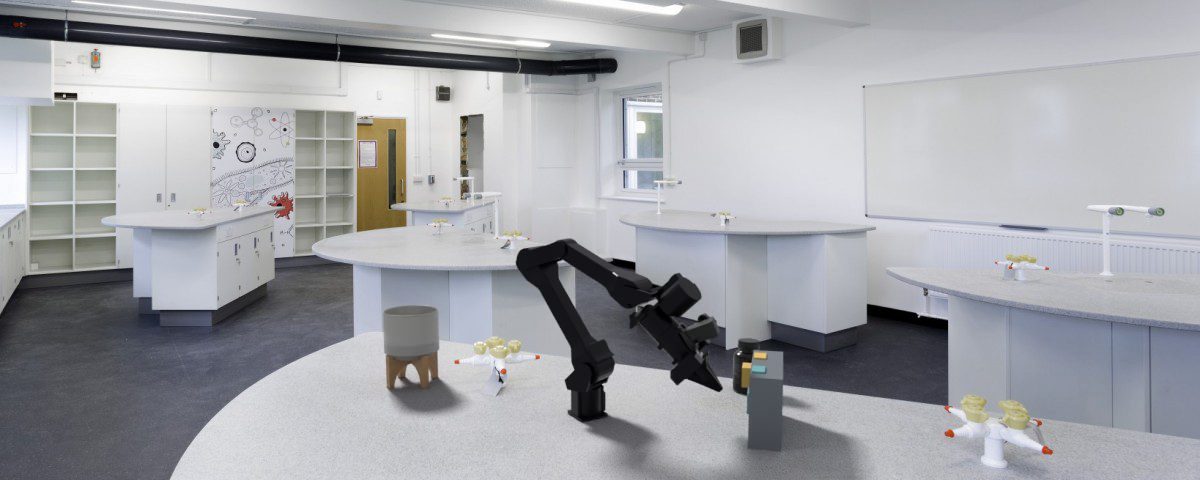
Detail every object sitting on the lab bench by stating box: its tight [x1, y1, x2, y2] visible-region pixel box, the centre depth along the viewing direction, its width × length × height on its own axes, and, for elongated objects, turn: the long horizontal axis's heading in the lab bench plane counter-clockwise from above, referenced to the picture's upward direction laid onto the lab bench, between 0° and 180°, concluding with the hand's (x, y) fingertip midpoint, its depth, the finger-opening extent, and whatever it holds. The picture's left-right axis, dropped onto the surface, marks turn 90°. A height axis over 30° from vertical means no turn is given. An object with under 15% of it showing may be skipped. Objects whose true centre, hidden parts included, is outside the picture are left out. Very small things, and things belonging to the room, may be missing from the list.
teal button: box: [746, 387, 749, 415], centre depth 135 cm, size 4×4×4 cm
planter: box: [382, 304, 440, 389], centre depth 171 cm, size 13×13×18 cm
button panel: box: [747, 349, 784, 452], centre depth 139 cm, size 6×20×14 cm, turn 166°
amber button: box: [742, 363, 752, 388], centre depth 144 cm, size 4×4×4 cm
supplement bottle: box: [732, 337, 760, 395], centre depth 164 cm, size 7×7×12 cm
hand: (721, 390), depth 136 cm, fingers closed
